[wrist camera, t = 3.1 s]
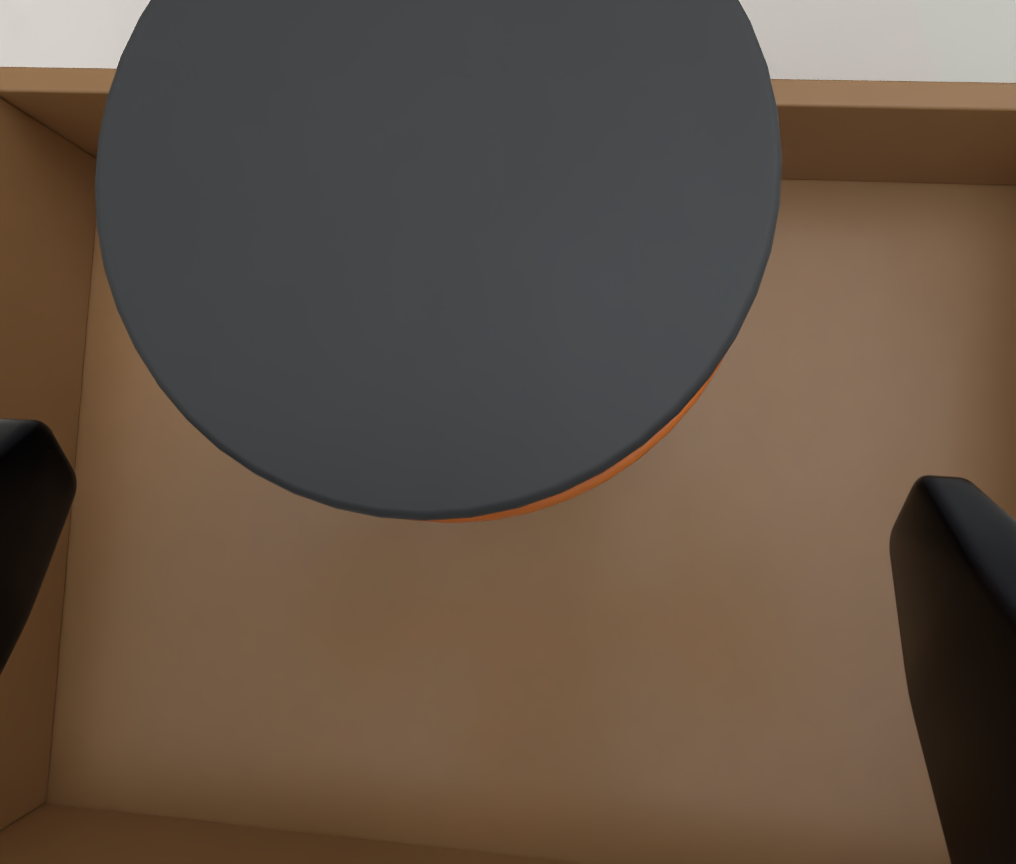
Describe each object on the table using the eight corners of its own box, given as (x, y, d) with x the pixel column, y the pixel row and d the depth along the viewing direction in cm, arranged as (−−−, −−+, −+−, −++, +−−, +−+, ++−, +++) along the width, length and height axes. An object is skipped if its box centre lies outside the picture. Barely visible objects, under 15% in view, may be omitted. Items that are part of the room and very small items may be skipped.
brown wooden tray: (1027, 928, 16) (1161, 1067, 13) (34, 817, 18) (-107, 906, 15) (1054, 169, 17) (1190, 83, 13) (91, 144, 19) (-30, 64, 15)
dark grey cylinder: (575, 532, 17) (562, 678, 5) (374, 416, 18) (-46, 312, 6) (692, 326, 17) (942, 6, 5) (487, 216, 18) (296, -297, 6)
